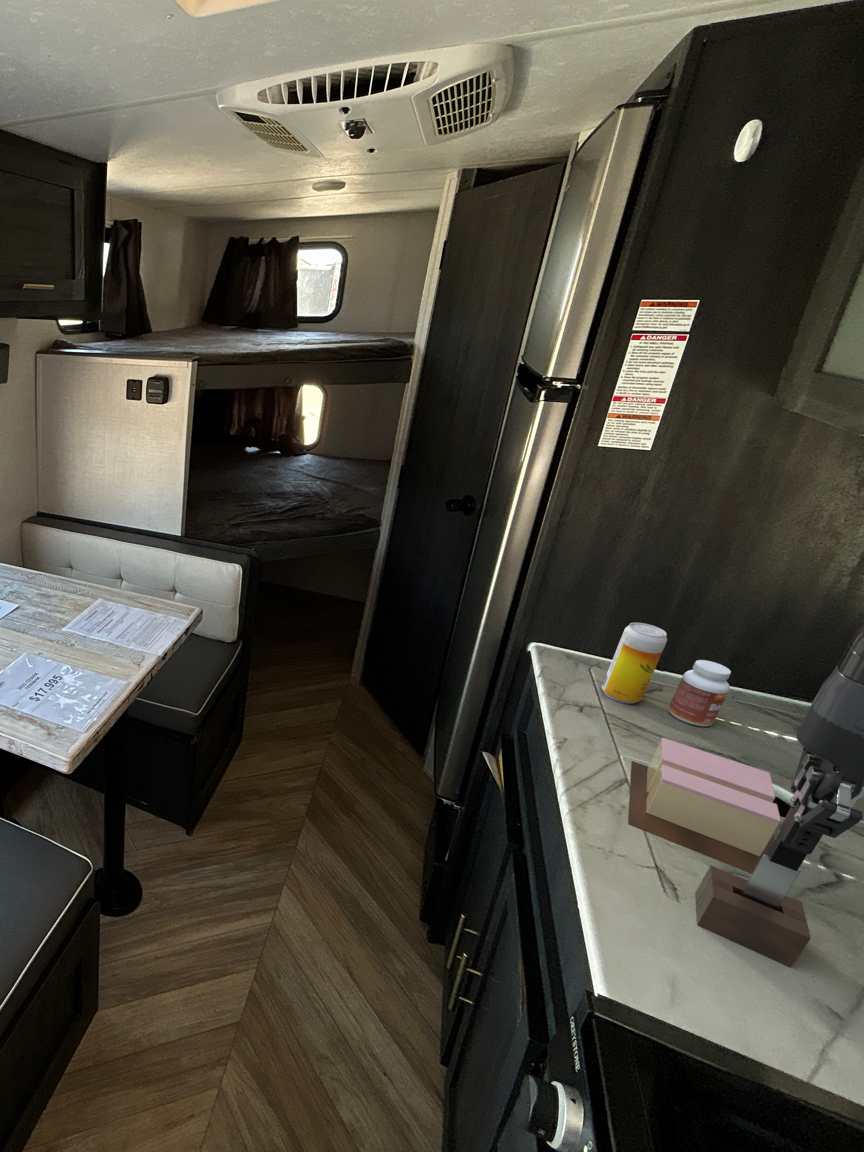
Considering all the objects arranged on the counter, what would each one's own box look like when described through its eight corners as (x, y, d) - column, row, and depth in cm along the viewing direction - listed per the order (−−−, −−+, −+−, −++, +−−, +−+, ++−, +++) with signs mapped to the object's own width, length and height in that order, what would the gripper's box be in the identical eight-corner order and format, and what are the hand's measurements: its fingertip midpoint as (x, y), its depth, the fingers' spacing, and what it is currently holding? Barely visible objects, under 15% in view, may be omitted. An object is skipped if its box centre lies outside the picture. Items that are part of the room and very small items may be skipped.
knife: (766, 919, 76) (832, 811, 69) (768, 928, 75) (835, 820, 68) (732, 904, 78) (792, 798, 71) (733, 913, 77) (794, 806, 70)
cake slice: (756, 839, 90) (777, 804, 87) (759, 856, 87) (781, 821, 84) (646, 797, 97) (662, 764, 94) (646, 812, 94) (662, 778, 92)
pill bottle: (708, 732, 113) (733, 680, 109) (663, 715, 117) (686, 664, 113) (715, 719, 116) (740, 668, 112) (671, 703, 121) (694, 653, 117)
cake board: (765, 813, 95) (768, 808, 95) (782, 892, 83) (785, 887, 82) (629, 765, 105) (631, 760, 105) (625, 829, 93) (627, 824, 92)
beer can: (644, 709, 119) (673, 640, 113) (603, 699, 122) (630, 632, 116) (636, 692, 124) (664, 626, 118) (597, 683, 127) (623, 618, 121)
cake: (751, 806, 95) (769, 772, 93) (755, 832, 91) (775, 797, 88) (647, 769, 103) (662, 737, 100) (646, 792, 98) (662, 758, 96)
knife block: (780, 936, 77) (802, 902, 75) (787, 973, 73) (811, 938, 71) (692, 898, 82) (710, 864, 80) (693, 930, 78) (713, 896, 76)
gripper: (946, 770, 58) (856, 902, 65) (905, 702, 67) (831, 824, 74) (825, 735, 63) (753, 862, 69) (803, 676, 72) (741, 793, 79)
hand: (793, 842), depth 72 cm, fingers closed on knife, 1 cm apart
